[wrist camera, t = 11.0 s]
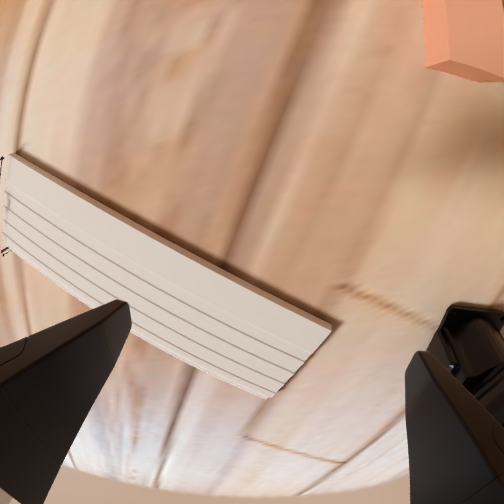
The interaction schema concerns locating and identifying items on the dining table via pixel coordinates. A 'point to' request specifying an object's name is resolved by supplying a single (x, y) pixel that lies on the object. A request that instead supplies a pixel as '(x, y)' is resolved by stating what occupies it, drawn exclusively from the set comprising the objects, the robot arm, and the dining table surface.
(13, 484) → the robot arm
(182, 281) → the baseboard
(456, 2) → the rail
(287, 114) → the dining table surface
